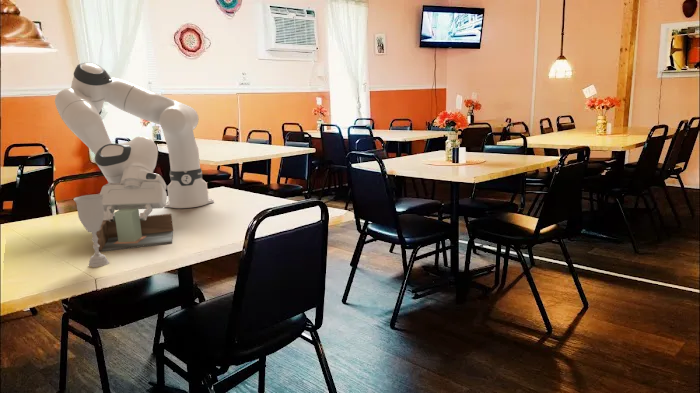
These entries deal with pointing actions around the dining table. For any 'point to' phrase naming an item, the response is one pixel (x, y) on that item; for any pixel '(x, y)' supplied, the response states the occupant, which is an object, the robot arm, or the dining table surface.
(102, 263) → the chalice
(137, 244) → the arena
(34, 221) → the dining table surface
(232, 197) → the dining table surface
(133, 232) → the sage block
